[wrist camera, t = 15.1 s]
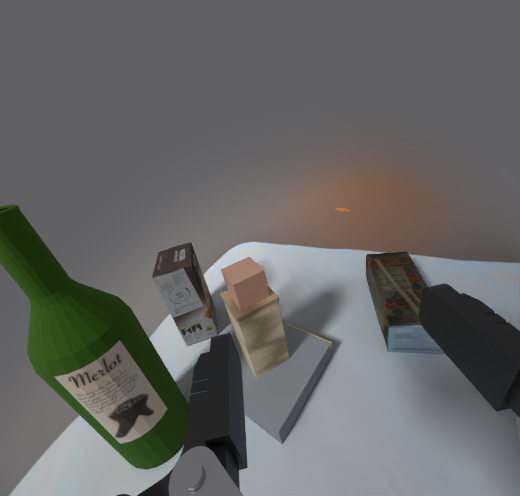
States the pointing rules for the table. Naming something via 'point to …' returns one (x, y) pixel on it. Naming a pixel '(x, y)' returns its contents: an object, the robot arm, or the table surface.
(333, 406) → the table surface
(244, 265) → the cube
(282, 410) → the dock
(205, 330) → the coffee box
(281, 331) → the wooden block
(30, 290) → the wine bottle
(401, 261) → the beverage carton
